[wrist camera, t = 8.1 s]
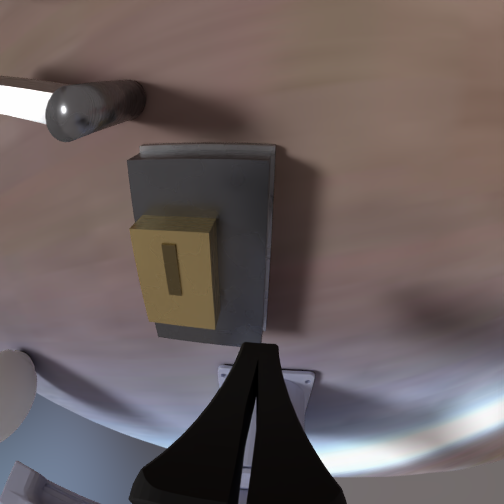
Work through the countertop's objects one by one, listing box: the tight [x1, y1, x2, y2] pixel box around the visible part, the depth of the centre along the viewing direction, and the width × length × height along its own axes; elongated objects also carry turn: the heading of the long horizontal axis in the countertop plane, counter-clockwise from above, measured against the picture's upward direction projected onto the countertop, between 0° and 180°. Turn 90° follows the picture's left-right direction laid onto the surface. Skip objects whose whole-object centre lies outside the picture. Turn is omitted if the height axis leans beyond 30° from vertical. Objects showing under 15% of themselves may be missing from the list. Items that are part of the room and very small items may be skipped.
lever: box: [0, 76, 146, 142], centre depth 12 cm, size 12×2×6 cm, turn 70°
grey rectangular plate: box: [127, 143, 276, 347], centre depth 18 cm, size 13×7×2 cm, turn 179°
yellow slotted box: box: [130, 215, 220, 330], centre depth 16 cm, size 6×4×2 cm, turn 179°
